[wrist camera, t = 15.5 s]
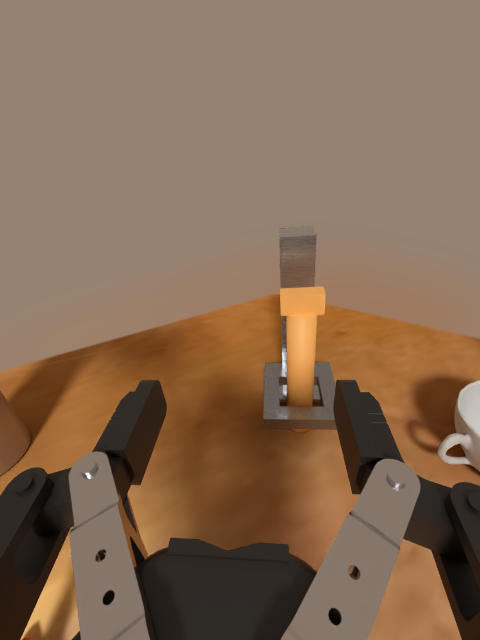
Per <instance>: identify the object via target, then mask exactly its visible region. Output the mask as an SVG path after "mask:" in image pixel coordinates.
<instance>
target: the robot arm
mask: <svg viewBox="0 0 480 640" xmlns="http://www.w3.org/2000/svg"><path fill="white" fill-rule="evenodd" d="M166 410H167V405H166V400H165V397H164V394H163V391H162V388H161V384H160V382H159V381H158V380H142V381H141V382H140V383H139V385H138V387H137V389H136V391H135V392H129V393H128V394H127V395H126V396H125V397H124V398H123V399H122V400H121V401H120V403H119V405H118V407H117V408H116V412H114V414H113V416H112V417H111V420H110V421H109V423H108V425H107V426H106V428H105V430H104V432H103V434H102V436H101V437H100V439H99V441H98V443H97V445H96V446H95V448H94V450H93V451H92V453H89V454H86V455H85V456H83V457H82V458H80V459H79V460H78V461H77V462H76V463H75V464H74V465H73V467H72V468H69V469H65V470H62V471H58V472H55V473H51V474H47V473H46V471H45V470H44V469H42V468H31V469H28V470H26V471H24V472H22V473H20V474H19V475H17V476H16V477H15V478H14V479H13V480H12V481H11V482H10V483H9V484H8V485H7V487H6V488H5V490H4V491H3V493H2V494H1V496H0V640H20V639H21V637H22V634H23V632H24V630H25V628H26V626H27V623H28V621H29V619H30V617H31V614H32V612H33V610H34V608H35V606H36V603H37V601H38V599H39V597H40V595H41V592H42V590H43V588H44V586H45V583H46V581H47V579H48V577H49V575H50V572H51V570H52V568H53V566H54V563H55V561H56V559H57V557H58V555H59V552H60V550H61V548H62V546H63V543H64V541H65V539H66V537H67V535H68V532H69V530H70V528H71V527H73V526H74V529H72V530H71V531H70V545H71V554H72V563H73V572H74V581H75V590H76V599H77V608H78V617H79V626H80V631H79V632H78V633H77V634H76V636H75V637H74V638H73V639H72V640H368V637H369V635H370V632H371V629H372V626H373V623H374V621H375V618H376V615H377V612H378V609H379V607H380V604H381V601H382V598H383V596H384V593H385V590H386V587H387V584H388V582H389V579H390V576H391V573H392V571H393V568H394V565H395V562H396V559H397V557H398V554H399V550H400V545H401V542H402V540H403V539H406V540H408V541H411V542H413V543H416V544H418V545H421V546H423V547H426V548H428V549H431V551H432V554H433V556H434V559H435V562H436V565H437V568H438V571H439V574H440V577H441V580H442V583H443V586H444V589H445V591H446V594H447V597H448V600H449V603H450V606H451V609H452V612H453V615H454V618H455V621H456V623H457V626H458V629H459V632H460V635H461V638H462V640H480V486H478V485H475V484H472V483H467V482H461V483H457V484H455V485H454V486H453V487H452V488H449V487H446V486H443V485H440V484H437V483H434V482H431V481H428V480H425V479H423V478H421V477H420V476H418V475H416V474H415V472H414V471H413V470H412V469H411V468H410V467H409V466H407V465H406V464H405V463H404V461H403V459H402V457H401V455H400V453H399V450H398V448H397V445H396V443H395V441H394V438H393V436H392V433H391V431H390V429H389V426H388V424H387V421H386V419H385V417H384V415H383V412H382V409H381V407H380V405H379V402H378V401H377V400H376V399H375V398H374V397H373V396H372V395H371V394H370V393H369V392H360V390H359V387H358V385H357V382H356V381H355V380H337V381H336V388H335V396H334V404H333V411H334V418H335V423H336V427H337V431H338V435H339V439H340V444H341V448H342V452H343V456H344V460H345V465H346V469H347V473H348V477H349V481H350V486H351V490H352V494H360V496H359V498H358V500H357V502H356V504H355V506H354V508H353V510H352V511H351V512H350V513H349V514H348V515H347V517H346V519H345V520H344V522H343V524H342V526H341V528H340V530H339V532H338V534H337V536H336V538H335V540H334V542H333V543H332V545H331V547H330V549H329V551H328V553H327V555H326V557H325V559H324V561H323V563H322V565H321V567H320V568H319V570H318V572H316V571H315V570H314V569H313V568H312V567H311V566H310V565H309V564H307V563H306V562H305V561H303V560H302V559H300V558H298V557H296V556H294V555H291V554H289V547H288V545H287V544H270V543H256V544H252V545H248V546H244V547H240V548H236V549H233V550H224V549H221V548H219V547H216V546H214V545H211V544H209V543H206V542H204V541H201V540H199V539H183V538H170V542H169V546H168V547H167V548H164V549H162V550H159V551H157V552H155V553H154V554H152V555H150V556H149V557H148V554H147V551H146V549H145V546H144V544H143V542H142V539H141V536H140V533H139V530H138V526H137V523H136V520H135V516H134V513H133V509H132V506H131V503H130V499H129V496H128V494H127V493H128V491H129V488H130V486H131V485H141V482H142V479H143V476H144V474H145V471H146V468H147V465H148V463H149V460H150V457H151V454H152V452H153V449H154V446H155V443H156V441H157V438H158V435H159V432H160V430H161V427H162V424H163V421H164V419H165V416H166ZM30 440H31V434H30V433H29V431H28V429H27V428H26V426H25V425H24V424H23V422H22V421H21V419H20V418H19V417H18V415H17V414H16V412H15V411H14V409H13V408H12V407H11V405H10V404H9V402H8V401H7V400H6V398H5V397H4V395H3V394H2V393H1V391H0V475H2V474H3V473H5V472H6V471H7V470H9V469H10V468H11V467H12V466H13V465H14V464H16V463H17V461H18V460H19V459H20V458H21V457H22V456H23V454H24V453H25V452H26V450H27V448H28V446H29V444H30Z"/></svg>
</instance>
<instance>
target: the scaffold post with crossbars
mask: <svg viewBox="0 0 480 640" xmlns="http://www.w3.org/2000/svg"><path fill="white" fill-rule="evenodd" d="M316 236H317V235H316V233H315V231H314V229H313V227H312V226H305V227H291V228H279V247H280V288H302V287H314V282H315V258H316ZM281 336H282V363H265V382H264V415H263V421H264V428H280V429H337V427H336V423H335V418H334V411H333V404H334V396H335V388H336V386H335V382H334V379H333V375H332V371H331V367H330V363H329V362H315V366H314V386H313V403H321V406H322V407H290V406H280V403H287V327H286V316H281Z"/></svg>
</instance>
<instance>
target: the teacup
mask: <svg viewBox="0 0 480 640" xmlns="http://www.w3.org/2000/svg"><path fill="white" fill-rule="evenodd" d="M454 419H455V429H456V433H454V434H451V435H448V436H447V437H446V438H445V439H444V440H443V442H442V443H441V444H440V446H439V448H438V451H437V454H438V456H439V458H440V459H441V460H442V461H444V462H445V463H447V464H469V465H471V466H473V467H474V468H476V469H477V470H478V471H479V472H480V381H476V382H473V383H470V384H468V385H467V386H465V387H464V388H463V389H462V390H461V391H460V393H459V396H458V399H457V401H456V406H455V417H454ZM457 444H460V445H461V447H462V449H463V451H464V453H465V457H450V456H447V455H445V454H446V452H447V450H448V449H449V448H451V447H453V446H454V445H457Z"/></svg>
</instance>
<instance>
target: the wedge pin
mask: <svg viewBox="0 0 480 640" xmlns="http://www.w3.org/2000/svg"><path fill="white" fill-rule="evenodd" d="M325 295H326V293H325V290H324V288H323V287H302V288H280V309H281V316H286V327H287V406H290V407H312V405H313V386H314V366H315V347H316V327H317V315H324V310H325ZM291 430H292V431H294V432H297V433H304V432H307V431H308V430H309V429H291Z"/></svg>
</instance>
